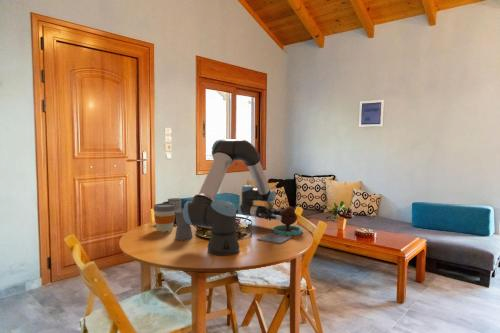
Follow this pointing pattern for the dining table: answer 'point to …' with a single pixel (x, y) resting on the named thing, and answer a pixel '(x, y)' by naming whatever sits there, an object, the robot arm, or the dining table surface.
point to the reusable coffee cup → (164, 216)
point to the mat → (274, 238)
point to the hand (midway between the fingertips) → (287, 216)
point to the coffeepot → (182, 227)
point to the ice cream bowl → (288, 217)
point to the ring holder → (288, 232)
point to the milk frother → (177, 204)
